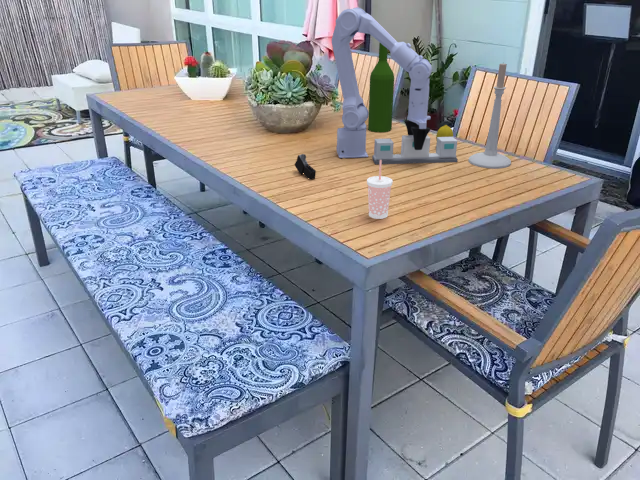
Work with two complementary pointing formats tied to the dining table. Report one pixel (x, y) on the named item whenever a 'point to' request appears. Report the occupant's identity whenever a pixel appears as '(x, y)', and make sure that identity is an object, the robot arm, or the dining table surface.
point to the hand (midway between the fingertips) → (415, 146)
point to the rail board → (443, 154)
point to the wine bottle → (381, 94)
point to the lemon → (444, 132)
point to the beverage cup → (379, 195)
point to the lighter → (304, 167)
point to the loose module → (409, 149)
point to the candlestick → (493, 132)
